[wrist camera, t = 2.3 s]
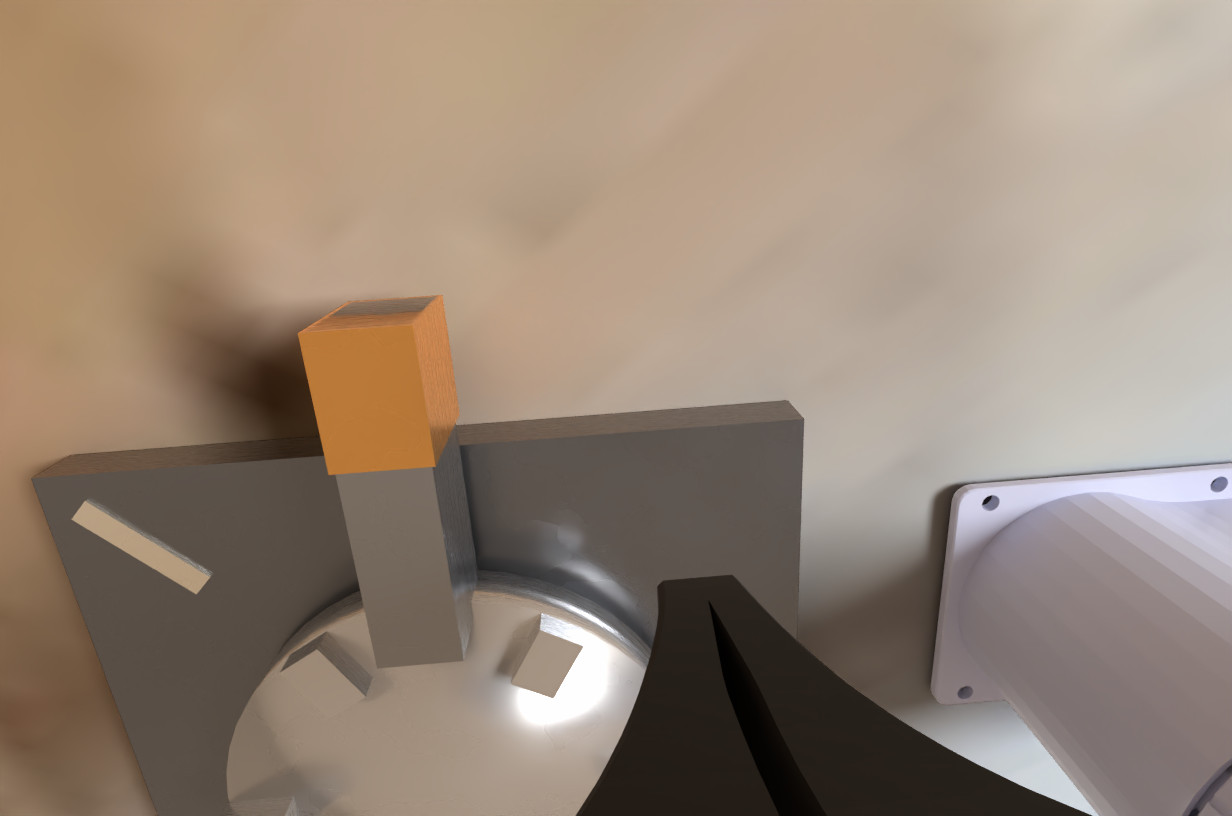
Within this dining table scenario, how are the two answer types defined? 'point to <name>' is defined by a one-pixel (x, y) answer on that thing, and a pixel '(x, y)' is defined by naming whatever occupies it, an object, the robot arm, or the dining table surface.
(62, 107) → the dining table surface
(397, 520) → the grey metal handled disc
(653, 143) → the dining table surface
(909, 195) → the dining table surface
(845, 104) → the dining table surface
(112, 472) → the base plate
